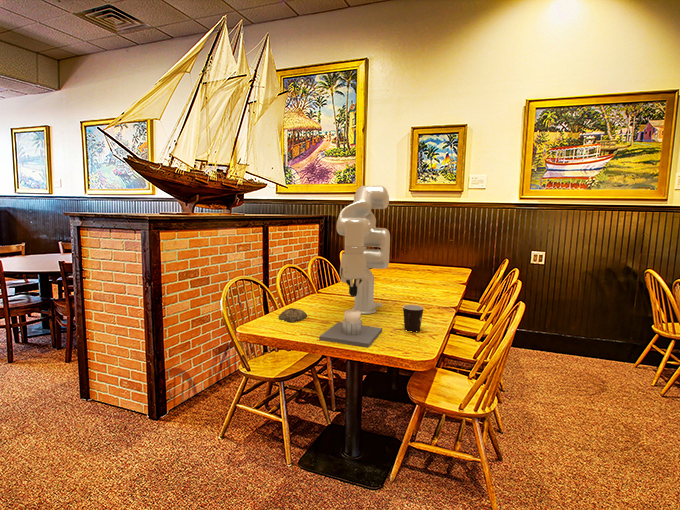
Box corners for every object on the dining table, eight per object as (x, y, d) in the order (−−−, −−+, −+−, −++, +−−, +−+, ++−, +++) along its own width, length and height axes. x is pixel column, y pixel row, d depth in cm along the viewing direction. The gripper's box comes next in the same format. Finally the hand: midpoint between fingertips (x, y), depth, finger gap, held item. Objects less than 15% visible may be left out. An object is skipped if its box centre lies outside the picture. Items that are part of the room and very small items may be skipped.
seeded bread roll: (310, 317, 175) (310, 307, 174) (293, 324, 165) (293, 313, 164) (290, 313, 182) (290, 303, 181) (272, 319, 172) (272, 308, 171)
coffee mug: (411, 325, 165) (412, 303, 163) (426, 330, 158) (427, 308, 157) (393, 330, 157) (393, 307, 156) (408, 336, 151) (409, 312, 150)
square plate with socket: (338, 325, 163) (338, 312, 162) (382, 331, 156) (382, 317, 155) (319, 340, 145) (319, 325, 144) (368, 347, 137) (369, 331, 137)
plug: (356, 328, 154) (356, 308, 153) (362, 333, 148) (363, 313, 147) (341, 330, 152) (341, 310, 151) (347, 335, 146) (348, 314, 145)
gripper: (367, 248, 152) (366, 292, 155) (332, 250, 147) (332, 294, 150) (375, 251, 145) (373, 296, 148) (339, 252, 140) (339, 299, 143)
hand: (353, 295), depth 149 cm, fingers closed
